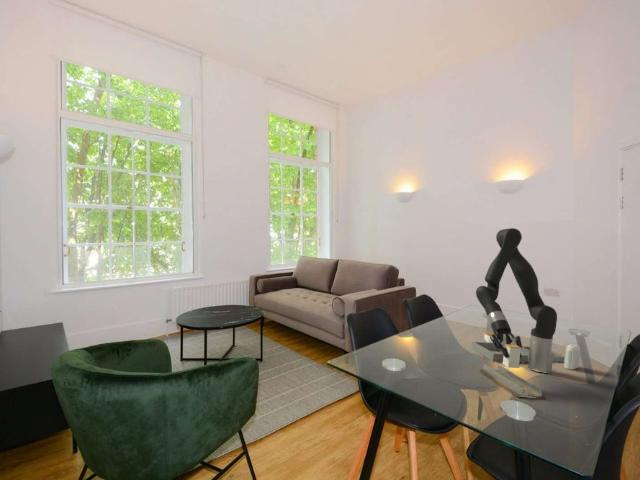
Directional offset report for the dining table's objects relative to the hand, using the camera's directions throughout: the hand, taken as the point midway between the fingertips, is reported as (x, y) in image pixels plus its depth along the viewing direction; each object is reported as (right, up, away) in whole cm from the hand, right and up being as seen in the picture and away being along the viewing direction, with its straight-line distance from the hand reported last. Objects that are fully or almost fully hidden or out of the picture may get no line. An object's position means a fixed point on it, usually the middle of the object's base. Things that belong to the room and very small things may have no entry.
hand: (513, 357), depth 145 cm
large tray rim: (+16, -13, +41) cm, 46 cm away
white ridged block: (+49, -17, +31) cm, 60 cm away
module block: (-1, -4, +1) cm, 4 cm away
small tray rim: (+43, -16, +46) cm, 65 cm away
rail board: (-1, -12, +1) cm, 12 cm away
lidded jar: (+23, -14, +60) cm, 66 cm away
